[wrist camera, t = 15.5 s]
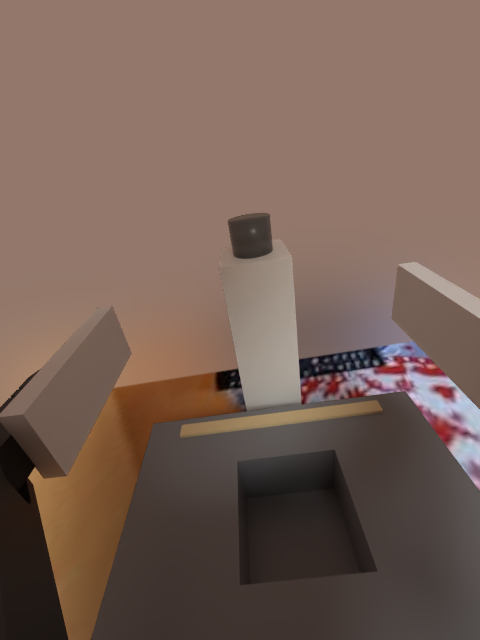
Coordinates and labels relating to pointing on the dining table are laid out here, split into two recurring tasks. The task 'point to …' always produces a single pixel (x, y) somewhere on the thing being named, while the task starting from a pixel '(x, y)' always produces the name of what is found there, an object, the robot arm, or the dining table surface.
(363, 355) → the dining table surface
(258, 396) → the light grey tall bottle
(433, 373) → the dining table surface
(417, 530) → the grey socket base
